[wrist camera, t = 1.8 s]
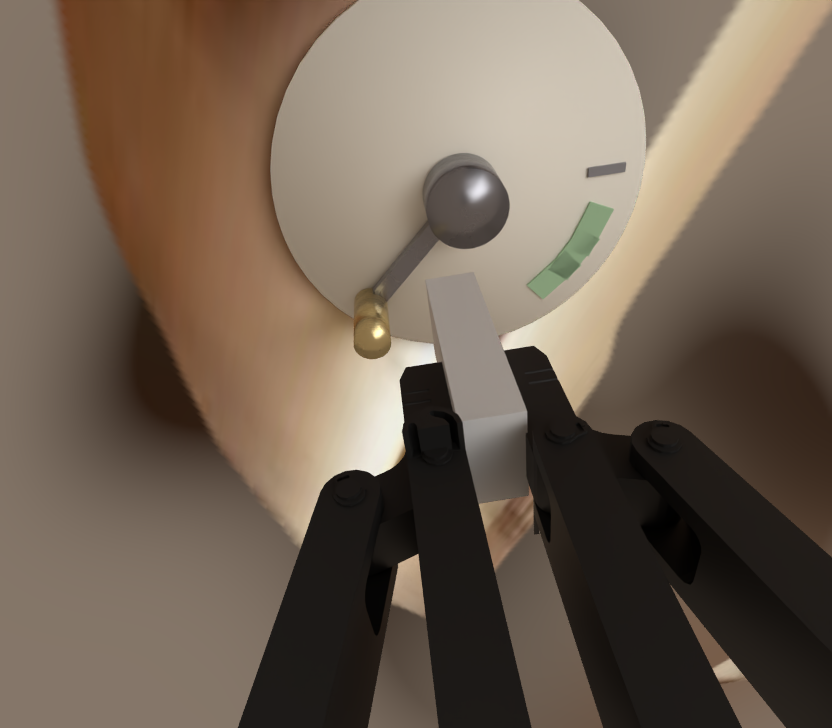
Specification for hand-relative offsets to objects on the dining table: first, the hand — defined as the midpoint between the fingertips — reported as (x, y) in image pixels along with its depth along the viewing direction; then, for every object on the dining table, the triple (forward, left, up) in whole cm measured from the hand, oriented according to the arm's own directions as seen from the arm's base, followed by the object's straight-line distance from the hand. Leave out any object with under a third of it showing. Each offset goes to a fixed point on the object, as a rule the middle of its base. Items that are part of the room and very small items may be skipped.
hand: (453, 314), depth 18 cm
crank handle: (+5, +5, -20) cm, 22 cm away
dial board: (+1, +5, -22) cm, 22 cm away
